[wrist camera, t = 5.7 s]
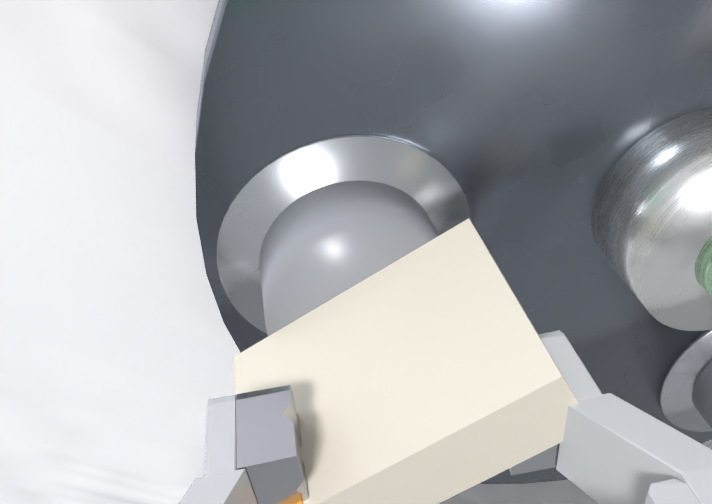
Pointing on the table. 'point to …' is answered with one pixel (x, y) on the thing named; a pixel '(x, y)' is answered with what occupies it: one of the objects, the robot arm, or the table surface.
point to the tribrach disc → (486, 160)
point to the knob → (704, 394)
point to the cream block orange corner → (398, 350)
